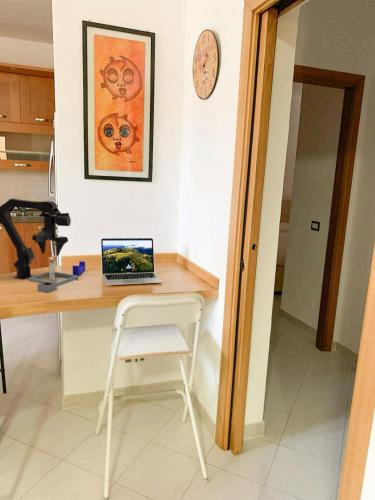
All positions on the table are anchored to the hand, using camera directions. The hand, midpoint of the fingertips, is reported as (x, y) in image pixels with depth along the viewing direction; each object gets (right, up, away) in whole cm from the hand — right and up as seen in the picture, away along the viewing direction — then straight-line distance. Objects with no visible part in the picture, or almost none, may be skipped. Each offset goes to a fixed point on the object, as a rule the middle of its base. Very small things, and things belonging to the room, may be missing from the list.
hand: (50, 254), depth 199 cm
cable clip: (+10, -11, +15) cm, 21 cm away
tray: (+3, -14, -4) cm, 15 cm away
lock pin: (+4, -14, -8) cm, 17 cm away
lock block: (+6, -18, -21) cm, 28 cm away
